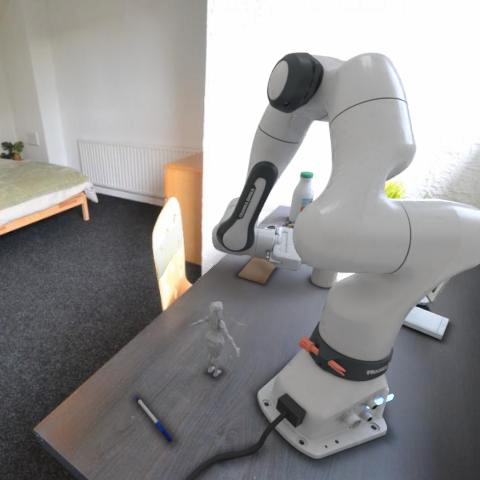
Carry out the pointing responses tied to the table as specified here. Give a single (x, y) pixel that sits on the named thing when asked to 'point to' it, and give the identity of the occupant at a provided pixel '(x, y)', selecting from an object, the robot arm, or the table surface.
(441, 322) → the hard drive
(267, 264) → the tan flat rectangular board
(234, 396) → the table surface
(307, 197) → the milk bottle
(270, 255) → the robot arm
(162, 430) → the ballpoint pen
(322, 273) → the bottle
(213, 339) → the human figurine
